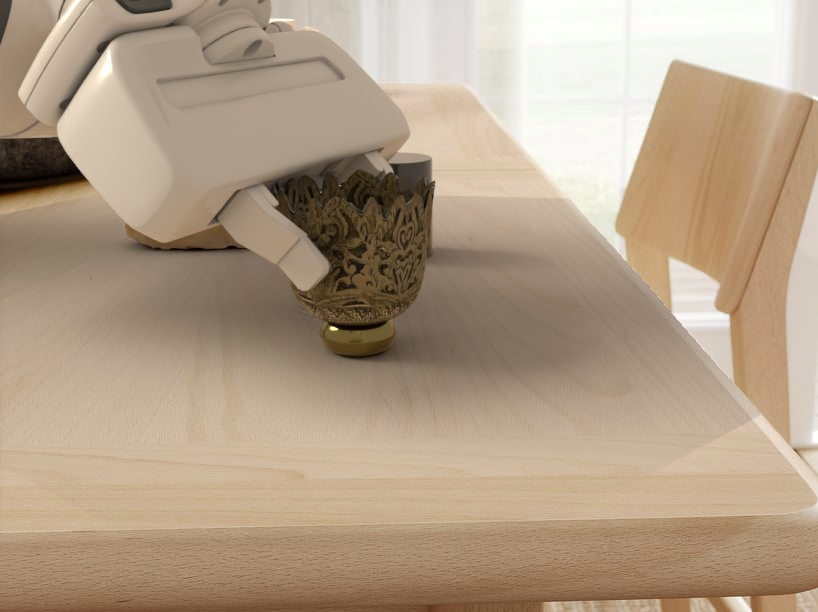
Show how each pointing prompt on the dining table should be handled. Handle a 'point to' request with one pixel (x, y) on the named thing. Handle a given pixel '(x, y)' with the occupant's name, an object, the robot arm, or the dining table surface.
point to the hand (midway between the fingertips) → (368, 259)
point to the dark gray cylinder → (413, 176)
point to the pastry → (190, 239)
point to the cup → (362, 254)
